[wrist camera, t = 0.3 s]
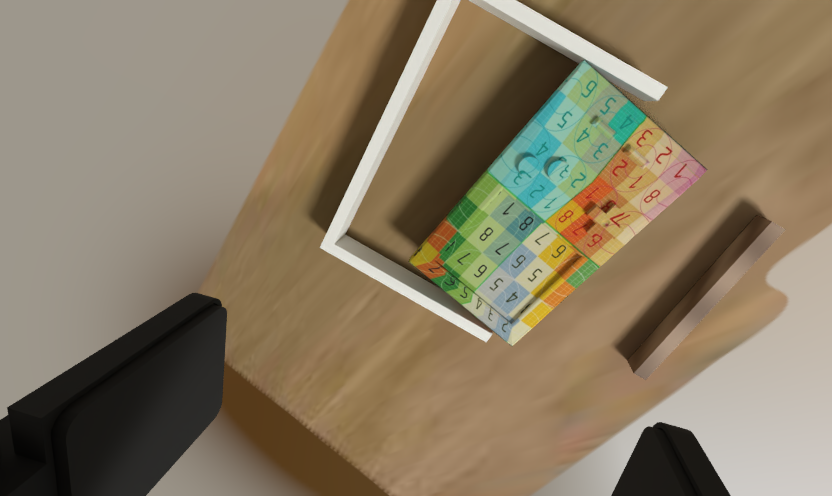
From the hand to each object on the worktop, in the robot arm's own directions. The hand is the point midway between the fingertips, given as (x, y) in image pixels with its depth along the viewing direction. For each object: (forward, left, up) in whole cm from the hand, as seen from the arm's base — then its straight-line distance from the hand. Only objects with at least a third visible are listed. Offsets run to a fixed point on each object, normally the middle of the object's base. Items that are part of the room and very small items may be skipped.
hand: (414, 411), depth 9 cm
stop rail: (-1, +21, -30) cm, 36 cm away
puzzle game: (-1, +6, -30) cm, 31 cm away
